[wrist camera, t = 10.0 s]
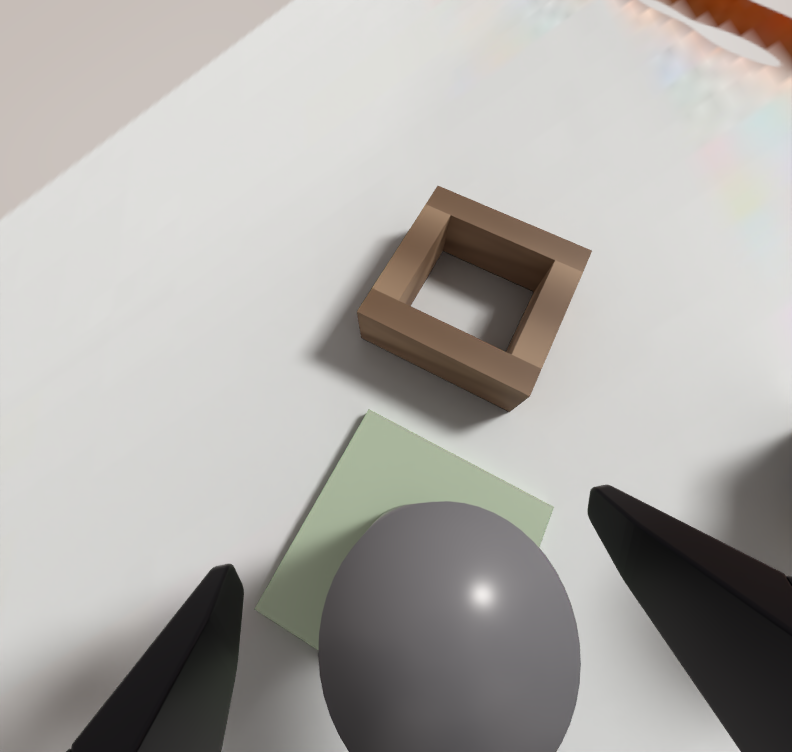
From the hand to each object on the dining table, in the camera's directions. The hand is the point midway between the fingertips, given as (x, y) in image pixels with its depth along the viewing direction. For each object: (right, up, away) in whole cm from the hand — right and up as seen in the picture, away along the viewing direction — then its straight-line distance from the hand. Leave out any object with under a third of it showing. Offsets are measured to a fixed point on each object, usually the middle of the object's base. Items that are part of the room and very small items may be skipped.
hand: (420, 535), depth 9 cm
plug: (0, -4, +8) cm, 9 cm away
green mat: (0, -4, +8) cm, 9 cm away
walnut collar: (+3, +8, +13) cm, 15 cm away
